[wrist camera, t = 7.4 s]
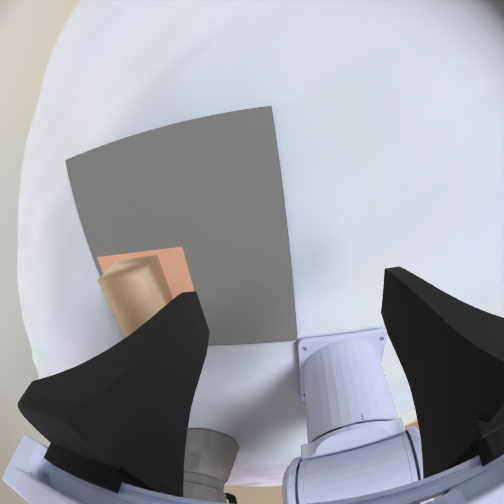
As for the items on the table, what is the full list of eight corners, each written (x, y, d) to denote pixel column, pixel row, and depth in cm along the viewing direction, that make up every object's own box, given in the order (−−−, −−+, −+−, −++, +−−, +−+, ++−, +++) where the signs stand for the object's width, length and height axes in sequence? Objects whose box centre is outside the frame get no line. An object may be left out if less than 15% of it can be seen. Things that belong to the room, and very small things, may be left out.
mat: (297, 336, 23) (297, 340, 23) (132, 341, 25) (130, 343, 25) (271, 106, 16) (271, 105, 15) (68, 159, 18) (64, 160, 17)
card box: (157, 254, 20) (141, 274, 17) (184, 327, 23) (174, 351, 20) (116, 261, 21) (97, 279, 18) (145, 329, 24) (133, 351, 21)
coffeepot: (154, 426, 33) (122, 527, 17) (194, 414, 30) (163, 540, 14) (227, 464, 37) (213, 551, 21) (270, 455, 34) (263, 555, 18)
